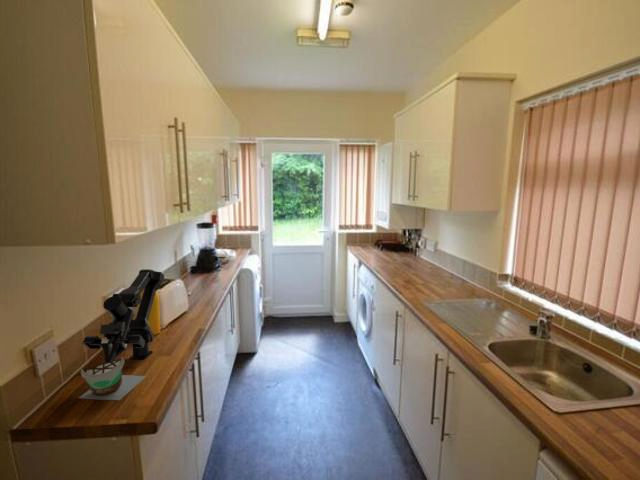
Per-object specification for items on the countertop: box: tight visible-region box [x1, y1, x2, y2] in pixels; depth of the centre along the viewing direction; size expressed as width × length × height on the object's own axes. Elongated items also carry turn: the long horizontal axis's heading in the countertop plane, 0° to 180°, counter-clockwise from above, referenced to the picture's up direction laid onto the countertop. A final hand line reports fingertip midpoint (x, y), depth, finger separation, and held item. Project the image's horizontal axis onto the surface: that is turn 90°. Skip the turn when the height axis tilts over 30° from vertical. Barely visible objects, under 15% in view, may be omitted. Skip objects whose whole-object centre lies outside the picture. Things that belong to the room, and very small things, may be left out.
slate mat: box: [78, 374, 147, 402], centre depth 117 cm, size 15×14×1 cm
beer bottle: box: [137, 288, 161, 336], centre depth 163 cm, size 9×9×29 cm
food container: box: [80, 356, 125, 396], centre depth 112 cm, size 12×6×10 cm, turn 126°
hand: (106, 366), depth 114 cm, fingers closed
